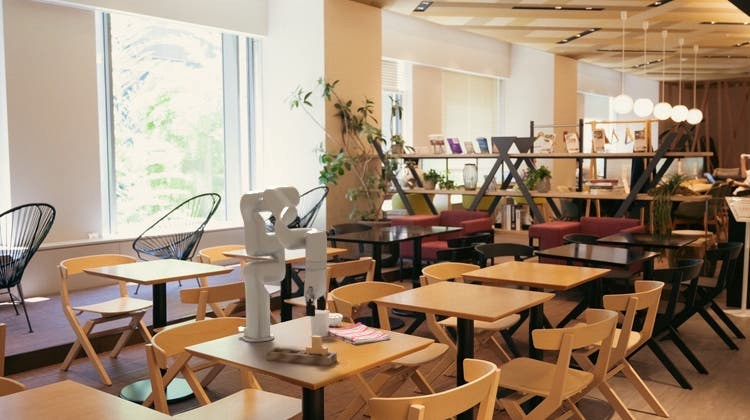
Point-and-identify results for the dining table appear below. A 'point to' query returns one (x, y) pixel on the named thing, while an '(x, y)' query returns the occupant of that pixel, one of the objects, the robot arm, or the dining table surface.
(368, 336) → the dish towel
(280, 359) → the wooden compartment tray
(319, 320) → the white cup
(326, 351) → the clip
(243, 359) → the dining table surface
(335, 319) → the white bowl
